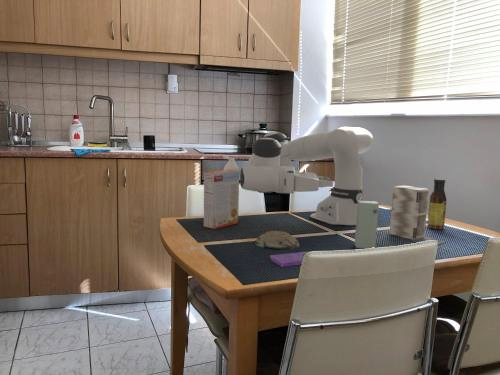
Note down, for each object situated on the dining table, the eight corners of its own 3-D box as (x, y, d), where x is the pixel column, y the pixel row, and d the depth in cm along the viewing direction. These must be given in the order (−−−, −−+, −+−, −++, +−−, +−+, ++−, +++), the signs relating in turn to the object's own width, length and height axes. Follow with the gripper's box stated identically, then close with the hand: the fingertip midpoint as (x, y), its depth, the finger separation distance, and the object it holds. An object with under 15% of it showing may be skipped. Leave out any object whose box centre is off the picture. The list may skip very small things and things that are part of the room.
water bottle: (240, 217, 178) (242, 157, 175) (227, 219, 175) (229, 158, 171) (229, 213, 185) (230, 156, 182) (216, 215, 181) (217, 156, 178)
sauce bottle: (445, 230, 169) (450, 180, 166) (428, 229, 170) (433, 179, 167) (441, 227, 175) (446, 178, 172) (425, 225, 176) (430, 177, 173)
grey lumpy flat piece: (245, 242, 144) (273, 253, 132) (245, 231, 143) (274, 241, 131) (279, 237, 152) (309, 247, 140) (280, 226, 152) (309, 236, 140)
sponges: (319, 264, 124) (319, 257, 123) (281, 268, 118) (281, 262, 118) (306, 257, 130) (306, 251, 130) (269, 261, 125) (269, 254, 124)
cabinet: (385, 235, 158) (389, 186, 156) (399, 231, 165) (404, 185, 162) (432, 246, 145) (437, 194, 142) (446, 242, 151) (451, 191, 149)
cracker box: (227, 221, 171) (228, 169, 168) (238, 223, 167) (240, 170, 164) (202, 226, 160) (203, 171, 157) (213, 229, 157) (215, 173, 154)
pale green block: (354, 244, 144) (357, 200, 142) (372, 245, 143) (376, 201, 141) (356, 248, 139) (360, 203, 137) (375, 249, 139) (379, 204, 136)
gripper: (288, 185, 151) (327, 187, 150) (288, 194, 131) (333, 196, 130) (289, 167, 150) (328, 169, 149) (289, 173, 130) (335, 175, 129)
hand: (331, 181), depth 139 cm, fingers open, 8 cm apart
